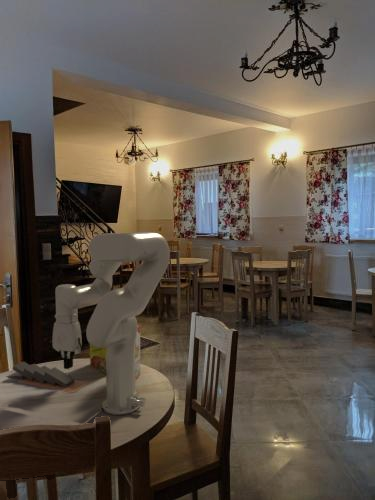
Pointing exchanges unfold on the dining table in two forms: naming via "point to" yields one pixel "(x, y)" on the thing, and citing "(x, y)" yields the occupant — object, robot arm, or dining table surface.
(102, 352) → the food package
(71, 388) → the domino board
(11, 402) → the dining table surface
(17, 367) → the domino
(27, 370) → the domino
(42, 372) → the domino
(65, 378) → the domino
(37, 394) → the dining table surface
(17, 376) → the domino
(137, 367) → the cracker box
